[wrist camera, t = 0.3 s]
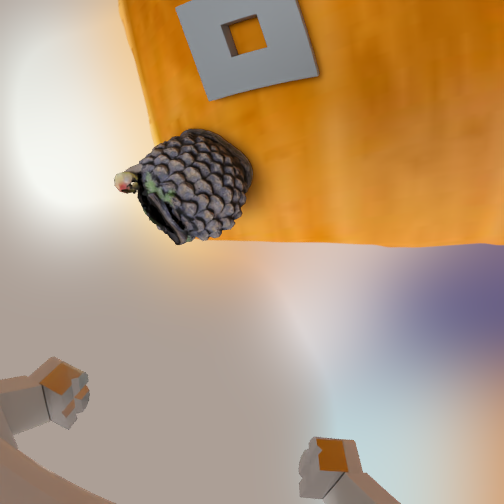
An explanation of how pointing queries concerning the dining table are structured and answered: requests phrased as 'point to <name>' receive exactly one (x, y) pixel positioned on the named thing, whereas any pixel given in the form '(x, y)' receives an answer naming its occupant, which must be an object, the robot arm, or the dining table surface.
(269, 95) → the dining table surface
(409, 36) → the dining table surface
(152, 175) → the decorative house
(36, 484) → the robot arm
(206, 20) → the cutout board
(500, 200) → the dining table surface
